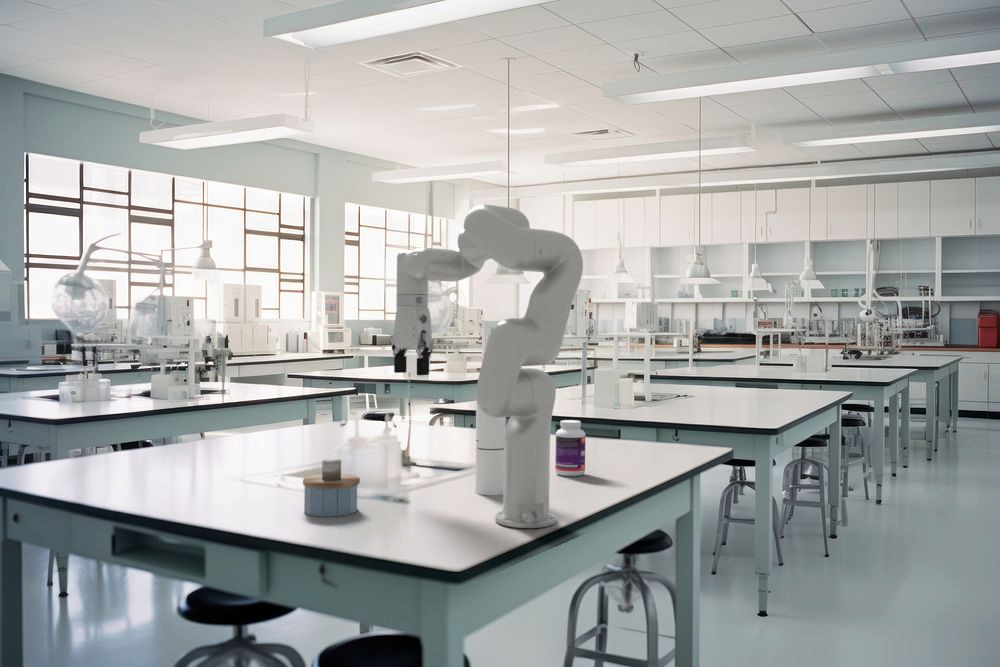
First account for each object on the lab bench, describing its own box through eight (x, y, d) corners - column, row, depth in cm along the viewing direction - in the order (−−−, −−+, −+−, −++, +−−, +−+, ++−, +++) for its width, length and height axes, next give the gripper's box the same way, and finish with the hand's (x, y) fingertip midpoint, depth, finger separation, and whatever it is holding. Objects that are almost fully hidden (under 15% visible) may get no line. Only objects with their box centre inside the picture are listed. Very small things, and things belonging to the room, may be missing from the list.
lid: (358, 488, 171) (358, 465, 171) (299, 489, 170) (299, 465, 170) (361, 477, 183) (361, 455, 183) (306, 477, 182) (306, 456, 182)
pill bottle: (586, 477, 218) (587, 423, 217) (556, 477, 218) (557, 423, 217) (583, 471, 226) (584, 419, 225) (554, 471, 226) (554, 419, 225)
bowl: (356, 516, 172) (357, 487, 172) (303, 517, 171) (303, 488, 170) (357, 504, 183) (357, 477, 183) (306, 505, 181) (306, 478, 181)
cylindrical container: (498, 488, 202) (499, 387, 202) (509, 494, 196) (510, 389, 195) (471, 490, 200) (472, 387, 199) (481, 496, 193) (482, 390, 193)
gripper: (446, 302, 192) (445, 375, 193) (405, 303, 206) (404, 371, 206) (419, 301, 188) (418, 376, 188) (379, 302, 201) (378, 372, 201)
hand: (411, 373), depth 197 cm, fingers open, 9 cm apart
